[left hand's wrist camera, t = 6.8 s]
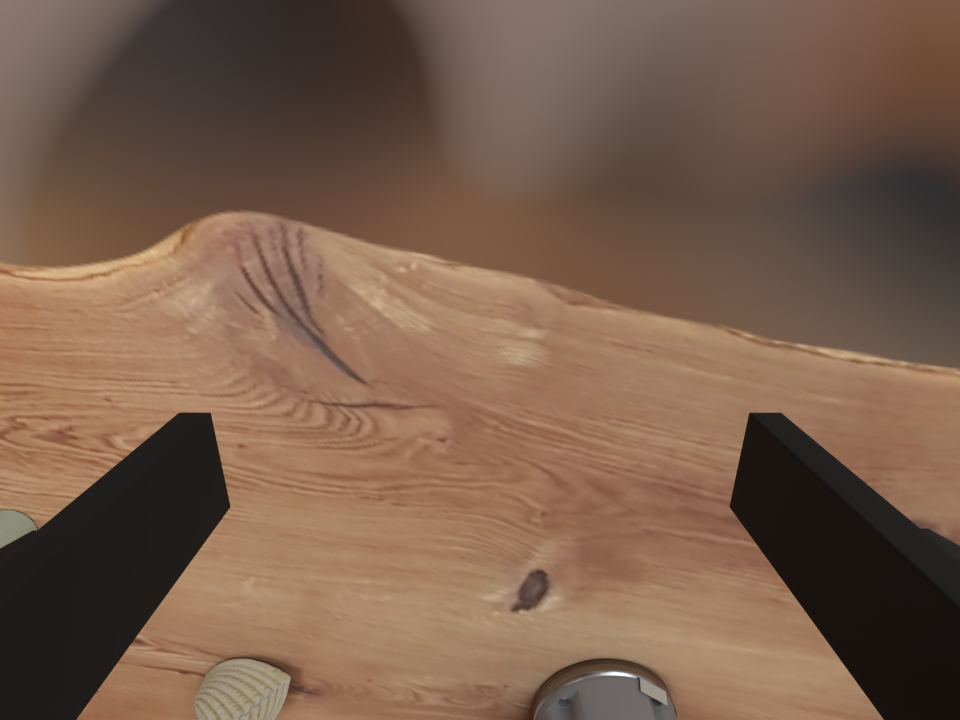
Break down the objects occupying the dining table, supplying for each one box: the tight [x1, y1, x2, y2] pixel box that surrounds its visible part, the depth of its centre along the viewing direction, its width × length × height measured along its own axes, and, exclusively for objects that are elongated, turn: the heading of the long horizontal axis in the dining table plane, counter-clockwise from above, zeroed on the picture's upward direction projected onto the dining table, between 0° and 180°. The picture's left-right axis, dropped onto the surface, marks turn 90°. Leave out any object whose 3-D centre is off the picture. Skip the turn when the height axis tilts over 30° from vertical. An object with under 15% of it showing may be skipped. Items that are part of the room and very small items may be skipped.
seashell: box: [194, 659, 291, 720], centre depth 52 cm, size 8×8×8 cm
